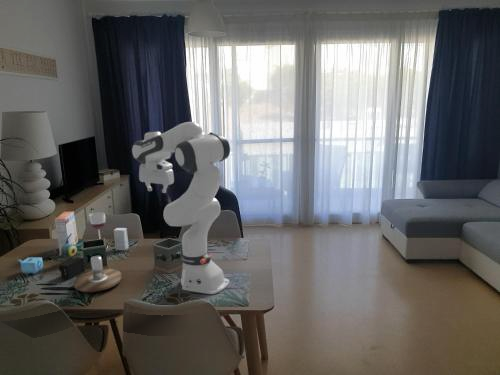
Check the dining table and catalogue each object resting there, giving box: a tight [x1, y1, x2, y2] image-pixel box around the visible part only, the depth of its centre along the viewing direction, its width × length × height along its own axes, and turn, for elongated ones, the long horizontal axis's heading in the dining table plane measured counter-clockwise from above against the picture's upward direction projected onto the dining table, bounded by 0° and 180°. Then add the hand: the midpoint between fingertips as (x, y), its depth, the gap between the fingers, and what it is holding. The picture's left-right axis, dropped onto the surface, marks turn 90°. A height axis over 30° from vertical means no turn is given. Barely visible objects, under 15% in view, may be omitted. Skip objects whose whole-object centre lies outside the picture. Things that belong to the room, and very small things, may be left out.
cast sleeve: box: [90, 255, 104, 280], centre depth 167 cm, size 4×4×10 cm
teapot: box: [17, 256, 44, 275], centre depth 182 cm, size 12×6×8 cm, turn 89°
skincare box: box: [113, 227, 130, 251], centre depth 209 cm, size 6×4×12 cm
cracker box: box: [54, 211, 79, 254], centre depth 208 cm, size 14×6×21 cm, turn 6°
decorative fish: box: [58, 234, 84, 262], centre depth 193 cm, size 13×12×6 cm
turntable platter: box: [73, 268, 123, 293], centre depth 169 cm, size 20×20×2 cm
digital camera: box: [58, 256, 86, 281], centre depth 179 cm, size 10×5×7 cm, turn 160°
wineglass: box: [88, 211, 109, 248], centre depth 211 cm, size 8×9×20 cm
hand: (157, 191), depth 185 cm, fingers open, 8 cm apart
